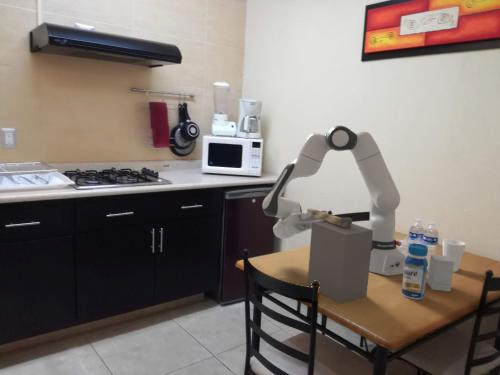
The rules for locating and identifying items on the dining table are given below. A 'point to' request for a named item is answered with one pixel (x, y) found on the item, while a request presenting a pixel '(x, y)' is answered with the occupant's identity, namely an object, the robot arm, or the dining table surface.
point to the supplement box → (440, 272)
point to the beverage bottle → (415, 272)
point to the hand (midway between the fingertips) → (318, 213)
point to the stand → (340, 260)
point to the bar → (331, 218)
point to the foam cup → (453, 251)
